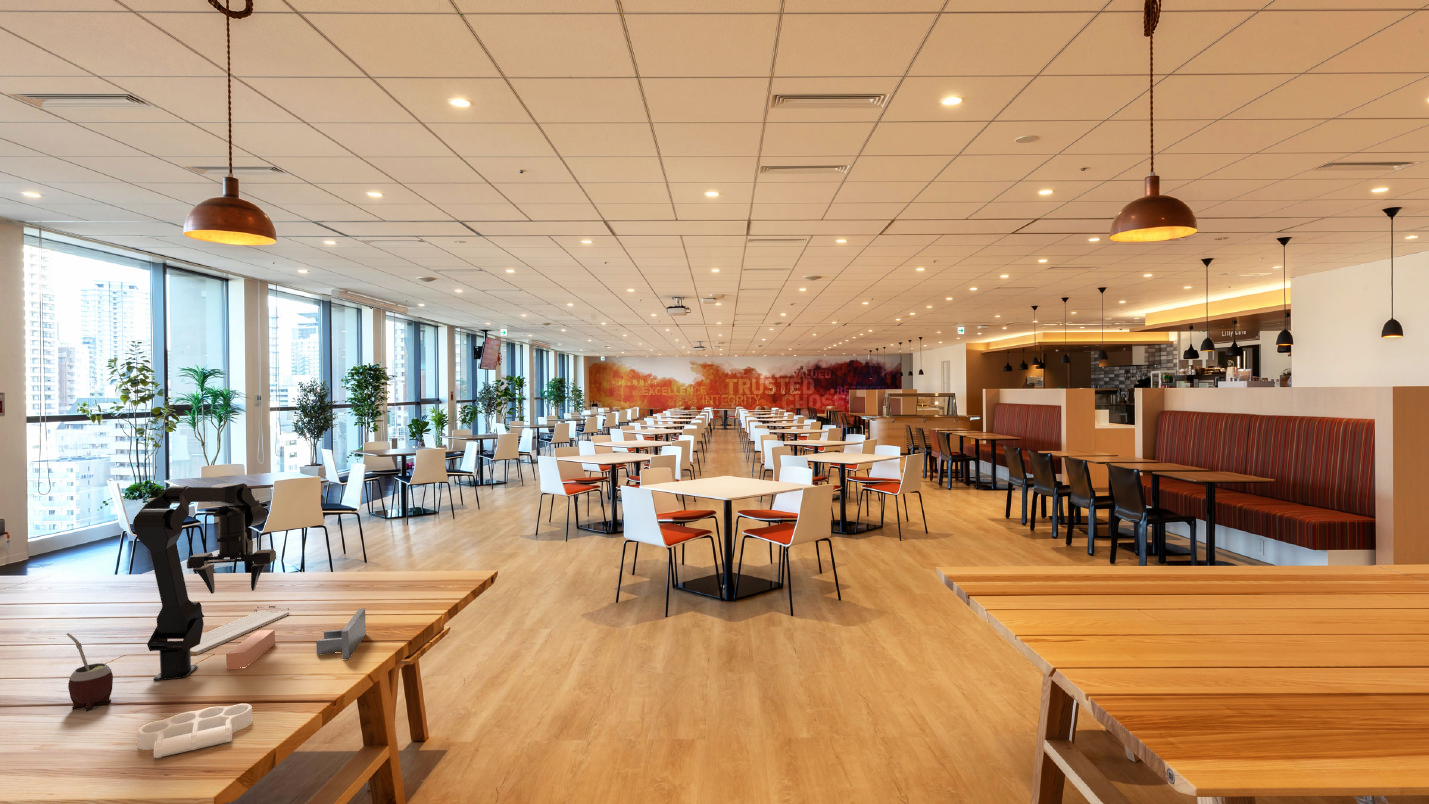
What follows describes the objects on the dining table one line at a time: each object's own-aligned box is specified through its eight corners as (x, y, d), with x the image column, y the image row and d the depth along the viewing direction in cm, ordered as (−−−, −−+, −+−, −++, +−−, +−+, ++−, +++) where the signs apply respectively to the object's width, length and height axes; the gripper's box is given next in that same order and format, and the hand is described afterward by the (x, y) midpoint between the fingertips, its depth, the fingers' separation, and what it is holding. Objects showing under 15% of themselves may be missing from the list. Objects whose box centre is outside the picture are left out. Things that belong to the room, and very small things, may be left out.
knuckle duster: (131, 769, 129) (142, 735, 141) (252, 741, 138) (252, 712, 151) (130, 750, 129) (141, 718, 141) (251, 723, 138) (252, 695, 150)
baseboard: (155, 654, 183) (196, 657, 181) (154, 643, 183) (196, 646, 181) (253, 614, 214) (289, 616, 212) (252, 604, 214) (289, 606, 212)
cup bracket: (349, 659, 177) (348, 631, 177) (310, 663, 175) (309, 634, 175) (365, 634, 195) (365, 608, 194) (330, 637, 193) (330, 611, 192)
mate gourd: (109, 708, 152) (106, 636, 152) (59, 717, 148) (56, 644, 148) (117, 694, 159) (114, 626, 158) (69, 703, 155) (66, 632, 154)
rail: (245, 669, 173) (244, 652, 172) (226, 670, 172) (226, 653, 172) (275, 644, 188) (274, 629, 188) (258, 645, 188) (257, 630, 188)
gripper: (282, 524, 200) (282, 581, 200) (203, 528, 195) (204, 586, 195) (268, 531, 189) (269, 592, 189) (185, 536, 184) (186, 598, 184)
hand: (233, 591), depth 190 cm, fingers open, 9 cm apart
